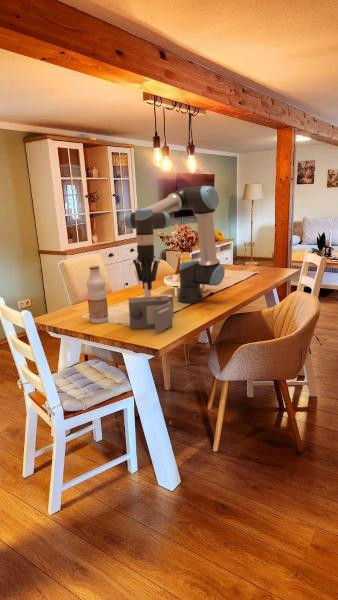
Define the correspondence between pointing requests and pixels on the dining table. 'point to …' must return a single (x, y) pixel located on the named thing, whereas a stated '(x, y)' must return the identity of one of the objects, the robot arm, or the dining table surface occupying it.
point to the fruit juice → (97, 296)
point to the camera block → (144, 311)
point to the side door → (163, 317)
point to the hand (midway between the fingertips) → (147, 296)
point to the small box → (170, 300)
